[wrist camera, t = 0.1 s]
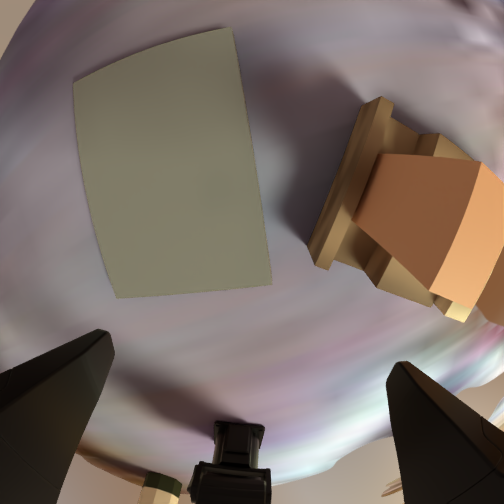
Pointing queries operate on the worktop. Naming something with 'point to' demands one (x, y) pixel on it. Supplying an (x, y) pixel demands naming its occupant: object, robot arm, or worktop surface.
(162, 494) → the wine bottle
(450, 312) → the ash offcut
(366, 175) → the walnut rack
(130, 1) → the worktop surface
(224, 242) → the slate tile
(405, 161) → the orange rectangular block
